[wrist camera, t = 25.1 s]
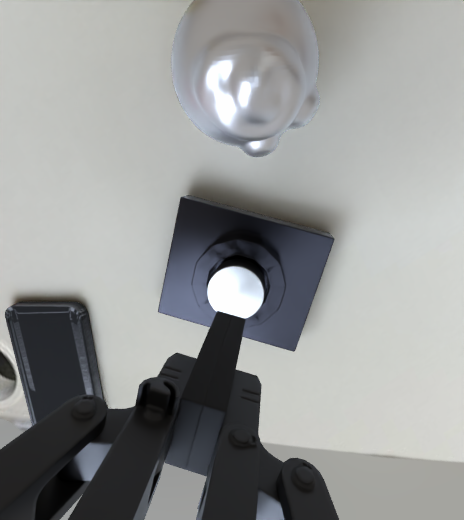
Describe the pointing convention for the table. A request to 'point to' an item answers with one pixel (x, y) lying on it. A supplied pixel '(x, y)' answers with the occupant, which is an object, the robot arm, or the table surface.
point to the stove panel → (254, 250)
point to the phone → (53, 354)
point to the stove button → (237, 288)
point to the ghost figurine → (246, 70)
